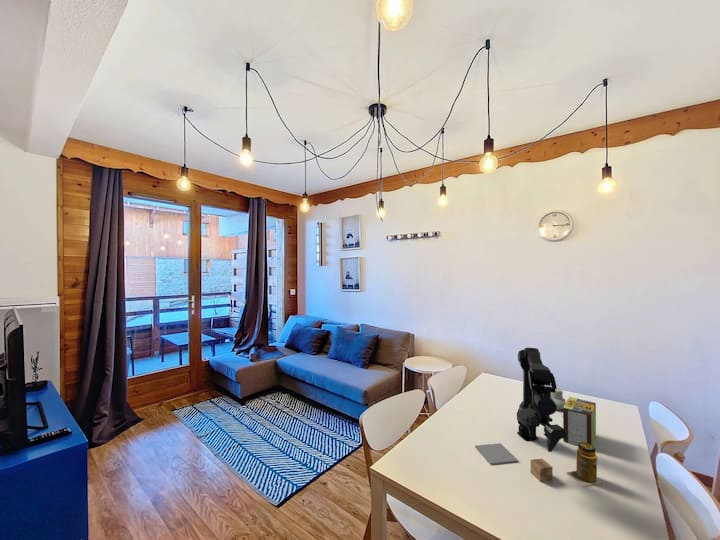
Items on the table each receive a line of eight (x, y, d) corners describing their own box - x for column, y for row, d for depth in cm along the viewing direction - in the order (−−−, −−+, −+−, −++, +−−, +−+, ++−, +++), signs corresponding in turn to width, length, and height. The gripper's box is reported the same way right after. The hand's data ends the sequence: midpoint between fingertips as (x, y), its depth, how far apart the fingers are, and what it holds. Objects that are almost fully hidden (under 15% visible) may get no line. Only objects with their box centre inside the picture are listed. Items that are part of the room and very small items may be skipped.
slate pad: (500, 444, 134) (500, 443, 134) (518, 461, 122) (518, 460, 122) (474, 446, 132) (474, 445, 132) (490, 464, 121) (490, 463, 121)
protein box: (596, 436, 140) (596, 402, 140) (591, 451, 129) (591, 414, 129) (568, 428, 147) (568, 396, 147) (562, 441, 136) (562, 407, 136)
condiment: (603, 482, 110) (603, 449, 110) (584, 486, 108) (584, 453, 108) (584, 469, 117) (584, 438, 117) (566, 473, 115) (566, 441, 115)
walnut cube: (542, 471, 116) (542, 458, 116) (552, 480, 112) (552, 466, 112) (530, 472, 116) (530, 459, 116) (540, 482, 111) (540, 468, 111)
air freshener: (548, 402, 176) (548, 384, 175) (565, 406, 171) (565, 388, 171) (546, 409, 167) (546, 391, 167) (564, 413, 162) (564, 394, 162)
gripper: (505, 393, 122) (505, 432, 122) (538, 416, 103) (538, 462, 103) (531, 392, 123) (531, 430, 123) (568, 413, 105) (568, 459, 105)
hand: (540, 444), depth 114 cm, fingers open, 9 cm apart
